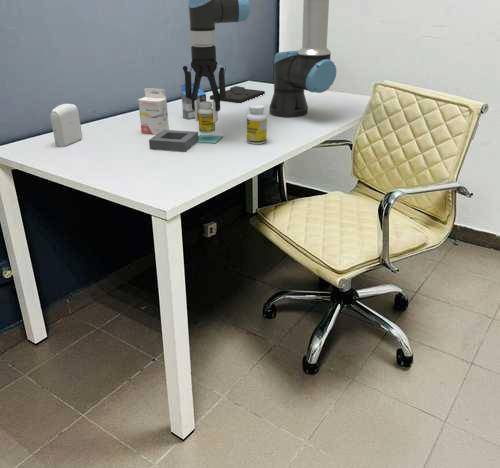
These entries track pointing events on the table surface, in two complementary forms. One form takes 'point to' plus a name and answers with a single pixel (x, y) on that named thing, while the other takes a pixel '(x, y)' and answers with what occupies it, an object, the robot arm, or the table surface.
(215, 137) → the coaster
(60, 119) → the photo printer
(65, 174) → the table surface
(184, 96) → the label tape cartridge
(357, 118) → the table surface
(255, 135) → the pill bottle
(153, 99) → the ink cartridge box
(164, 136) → the socket frame
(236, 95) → the black ridged flat slab
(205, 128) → the supplement bottle
